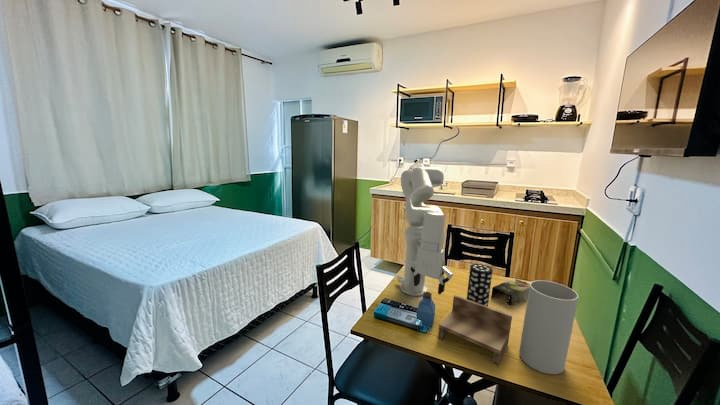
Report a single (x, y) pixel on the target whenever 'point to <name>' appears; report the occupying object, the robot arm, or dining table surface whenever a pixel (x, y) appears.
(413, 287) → the robot arm
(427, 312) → the perfume bottle
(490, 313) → the brown wooden bench
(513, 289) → the juice carton
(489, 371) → the dining table surface
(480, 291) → the spotted tube
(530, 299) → the cylinder vase
